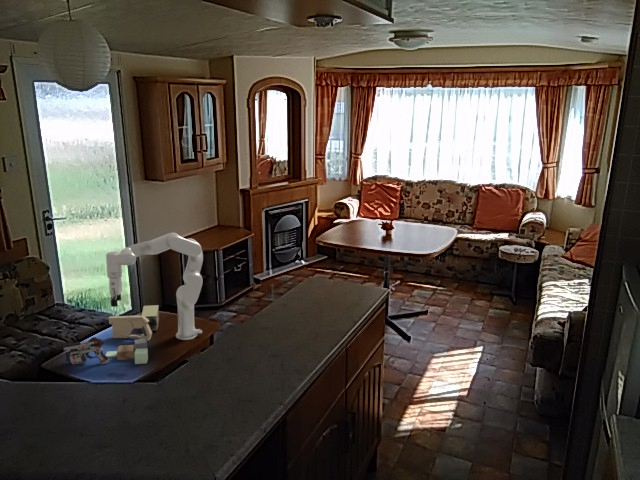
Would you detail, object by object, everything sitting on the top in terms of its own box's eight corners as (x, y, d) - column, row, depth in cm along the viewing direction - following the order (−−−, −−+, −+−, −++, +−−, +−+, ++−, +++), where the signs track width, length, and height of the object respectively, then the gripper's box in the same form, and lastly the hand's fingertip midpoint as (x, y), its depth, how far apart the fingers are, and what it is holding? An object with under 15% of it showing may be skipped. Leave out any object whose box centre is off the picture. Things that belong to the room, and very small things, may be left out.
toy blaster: (70, 367, 281) (63, 341, 277) (110, 360, 281) (103, 334, 278) (68, 370, 277) (60, 344, 273) (108, 363, 278) (101, 337, 274)
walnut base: (134, 353, 293) (134, 344, 292) (132, 359, 285) (132, 350, 284) (119, 353, 291) (119, 345, 290) (117, 360, 284) (116, 351, 282)
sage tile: (118, 352, 293) (118, 351, 293) (116, 356, 287) (116, 355, 287) (107, 352, 292) (107, 351, 292) (105, 357, 286) (104, 356, 286)
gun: (153, 338, 311) (150, 315, 308) (150, 341, 308) (147, 317, 305) (114, 339, 314) (110, 315, 311) (111, 341, 311) (107, 317, 307)
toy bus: (140, 333, 318) (140, 317, 316) (143, 320, 340) (143, 305, 339) (158, 331, 321) (157, 316, 319) (159, 319, 343) (159, 304, 341)
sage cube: (148, 358, 287) (147, 348, 285) (146, 363, 281) (146, 353, 280) (136, 359, 286) (136, 348, 284) (135, 364, 280) (134, 353, 278)
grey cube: (145, 348, 299) (145, 338, 298) (147, 352, 294) (146, 342, 293) (134, 349, 297) (134, 339, 295) (136, 354, 291) (135, 344, 290)
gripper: (118, 278, 282) (119, 308, 286) (124, 269, 298) (126, 298, 302) (103, 278, 281) (105, 308, 284) (111, 269, 297) (112, 298, 301)
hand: (116, 303), depth 293 cm, fingers open, 9 cm apart
